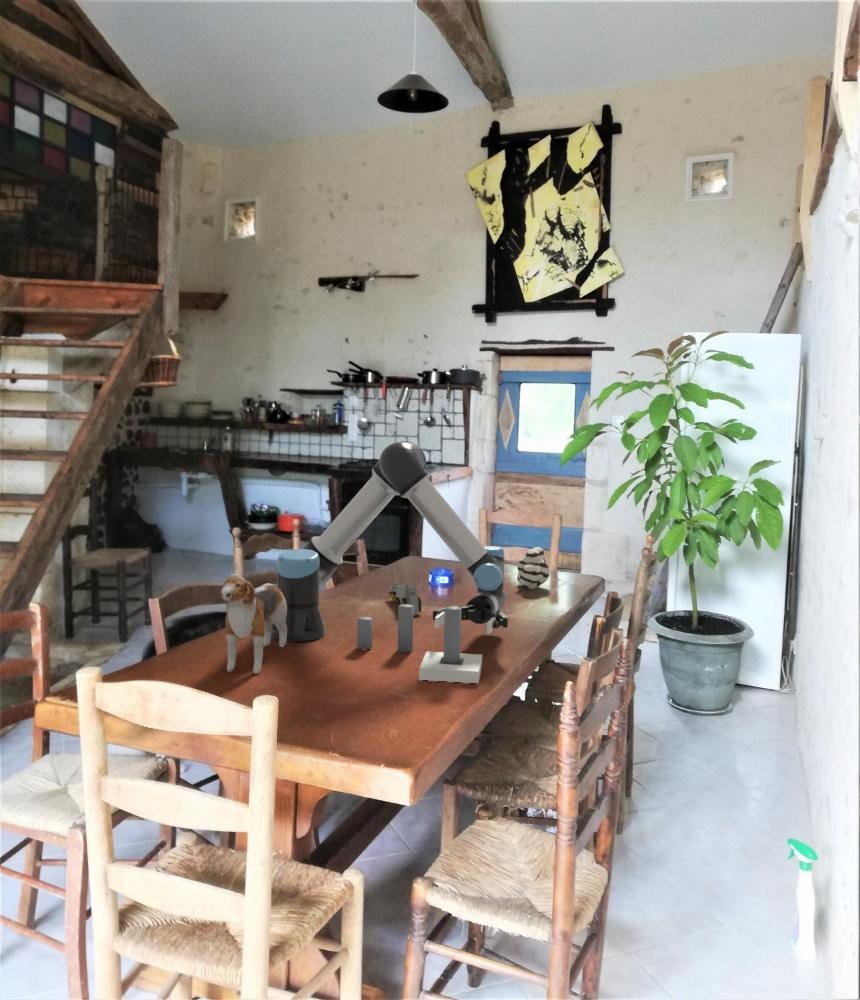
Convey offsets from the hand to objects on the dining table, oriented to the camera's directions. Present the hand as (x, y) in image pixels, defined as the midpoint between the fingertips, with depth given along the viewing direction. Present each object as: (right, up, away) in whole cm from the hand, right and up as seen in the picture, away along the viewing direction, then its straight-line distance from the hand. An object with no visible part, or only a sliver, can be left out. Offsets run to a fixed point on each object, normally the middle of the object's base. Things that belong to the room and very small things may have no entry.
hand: (461, 625), depth 204 cm
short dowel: (-26, -8, +12) cm, 29 cm away
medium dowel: (-15, -8, +11) cm, 20 cm away
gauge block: (-3, -10, -8) cm, 13 cm away
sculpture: (+30, -1, +96) cm, 100 cm away
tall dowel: (-3, -10, -8) cm, 13 cm away
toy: (-17, -4, +61) cm, 63 cm away
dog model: (-51, -9, -3) cm, 52 cm away
